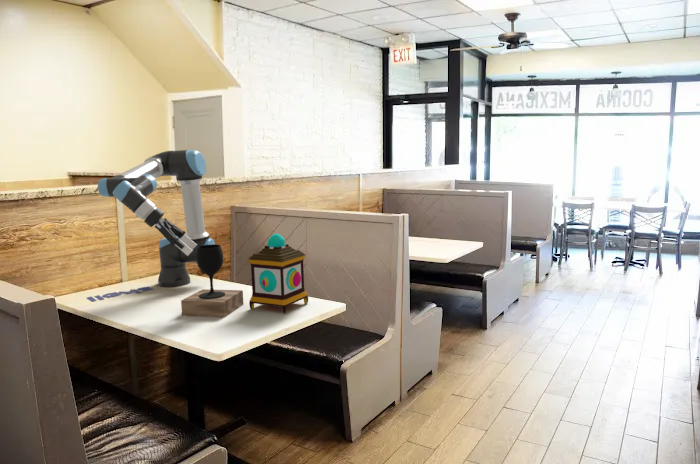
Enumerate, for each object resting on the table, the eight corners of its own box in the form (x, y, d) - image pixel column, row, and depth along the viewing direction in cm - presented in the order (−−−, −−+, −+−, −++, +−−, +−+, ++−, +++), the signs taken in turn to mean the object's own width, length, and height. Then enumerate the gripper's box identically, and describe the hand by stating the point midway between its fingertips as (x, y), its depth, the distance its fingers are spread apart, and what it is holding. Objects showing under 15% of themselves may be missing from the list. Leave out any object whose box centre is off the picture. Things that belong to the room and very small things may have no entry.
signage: (148, 285, 264) (156, 289, 257) (148, 287, 264) (156, 290, 257) (85, 296, 246) (92, 301, 238) (86, 298, 246) (92, 302, 239)
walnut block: (203, 303, 231) (202, 289, 230) (243, 304, 228) (242, 290, 227) (182, 315, 214) (181, 300, 213) (225, 317, 210) (224, 301, 209)
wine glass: (216, 299, 213) (213, 248, 210) (193, 298, 216) (190, 248, 213) (230, 293, 223) (227, 244, 220) (208, 291, 226) (205, 243, 223)
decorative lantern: (244, 310, 219) (240, 235, 215) (273, 298, 237) (270, 229, 232) (286, 315, 210) (282, 238, 206) (313, 302, 227) (310, 231, 223)
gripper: (150, 217, 224) (190, 251, 228) (135, 224, 199) (181, 263, 204) (162, 203, 224) (202, 238, 228) (150, 209, 199) (195, 248, 204)
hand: (192, 250), depth 216 cm, fingers open, 13 cm apart
